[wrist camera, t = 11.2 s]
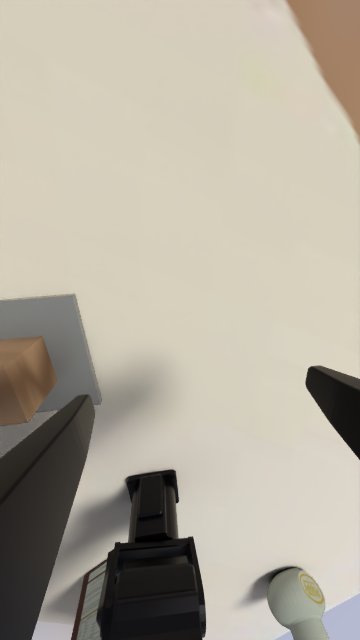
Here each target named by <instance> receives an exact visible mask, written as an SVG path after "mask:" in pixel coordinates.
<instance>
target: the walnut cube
mask: <svg viewBox="0 0 360 640" xmlns="http://www.w3.org/2000/svg"><path fill="white" fill-rule="evenodd" d="M57 382H58V381H57V378H56V375H55V372H54V369H53V366H52V363H51V360H50V357H49V354H48V351H47V348H46V345H45V342H44V339H43V336H39V337H28V338H18V339H7V340H0V426H4V425H12V424H20V423H28V422H29V420H30V419H31V417H32V416H33V415H34V413H35V412H36V411H37V409H38V408H39V406H40V405H41V404H42V402H43V401H44V400H45V398H46V397H47V395H48V394H49V393H50V391H51V390H52V389H53V387H54V386H55V384H56V383H57Z"/></svg>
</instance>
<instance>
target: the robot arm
mask: <svg viewBox="0 0 360 640" xmlns="http://www.w3.org/2000/svg"><path fill="white" fill-rule="evenodd" d="M306 387H307V389H308V391H309V392H310V394H311V395H312V397H313V398H314V400H315V401H316V403H317V404H318V406H319V407H320V409H321V410H322V412H323V413H324V415H325V416H326V418H327V419H328V420H329V422H330V423H331V425H332V426H333V427H334V428H335V430H336V431H337V432H338V433H339V435H340V436H341V437H342V438H343V440H344V441H345V442H346V443H347V445H348V446H349V447H350V448H351V450H352V451H353V452H354V453H355V455H356V456H357V457H358V458H359V460H360V379H358V378H355V377H352V376H349V375H346V374H344V373H341V372H338V371H335V370H332V369H329V368H326V367H323V366H311V367H309V368H308V372H307V377H306ZM94 418H95V409H94V406H93V402H92V398H91V396H90V395H89V394H83V395H78V396H77V397H75V398H74V399H73V400H72V401H70V402H69V403H68V404H67V405H65V406H64V407H63V408H62V409H61V410H59V411H58V412H57V413H56V414H54V415H53V416H52V417H51V418H50V419H48V420H47V421H46V422H45V423H43V424H42V425H41V426H40V427H38V428H37V429H36V430H35V431H34V432H32V433H31V434H30V435H29V436H27V437H26V438H25V439H24V440H23V441H21V442H20V443H19V444H18V445H16V446H15V447H14V448H13V449H11V450H10V451H9V452H8V453H7V454H5V455H4V456H3V457H2V458H0V640H31V639H32V636H33V633H34V629H35V625H36V623H37V620H38V616H39V613H40V610H41V606H42V603H43V600H44V597H45V593H46V590H47V587H48V583H49V580H50V577H51V574H52V570H53V567H54V564H55V560H56V557H57V554H58V551H59V547H60V544H61V541H62V537H63V534H64V531H65V528H66V524H67V521H68V518H69V514H70V511H71V508H72V505H73V501H74V498H75V495H76V491H77V488H78V485H79V481H80V478H81V475H82V472H83V468H84V465H85V461H86V458H87V453H88V449H89V443H90V438H91V433H92V428H93V423H94ZM127 486H128V490H129V494H130V499H131V503H132V507H131V517H130V528H129V539H128V543H120V542H115V547H114V549H113V550H112V551H110V552H109V553H108V558H107V564H106V570H105V576H104V581H103V586H102V591H101V595H100V600H99V605H98V610H97V616H96V622H97V624H98V626H99V629H100V638H101V640H202V638H204V637H205V633H206V611H205V599H204V591H203V585H202V579H201V574H200V569H199V564H198V559H197V554H196V549H195V544H194V539H193V536H192V537H188V538H181V539H178V526H177V513H176V503H178V502H179V497H178V487H177V478H176V471H174V470H171V471H165V472H158V473H152V474H146V475H139V476H133V477H129V478H128V479H127ZM118 573H119V574H118Z"/></svg>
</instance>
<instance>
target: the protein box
mask: <svg viewBox="0 0 360 640" xmlns="http://www.w3.org/2000/svg"><path fill="white" fill-rule="evenodd" d="M106 564H107V560H106V561H104V562H103V563H101V564H100V565H99V566H97V567H96V568H94V569H93V570H92V571H90V572H89V573H87V574H86V575H85V576H84V580H83V585H82V590H81V595H80V600H79V605H78V609H77V614H76V619H75V623H74V628H73V633H72V637H71V640H101V638H100V629H99V626H98V624H97V622H96V616H97V610H98V605H99V600H100V595H101V591H102V586H103V581H104V576H105V570H106ZM118 574H119V573H118Z"/></svg>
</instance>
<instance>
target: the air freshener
mask: <svg viewBox="0 0 360 640" xmlns="http://www.w3.org/2000/svg"><path fill="white" fill-rule="evenodd" d="M267 600H268V604H269V607H270V610H271V612H272V614H273V616H274V617H275V618H276V620H277V621H278V622H279V623H280V624H281V625H282V626H284V627H286V628H288V629H290V630H291V633H292V635H293V638H294V640H330V639H329V637H328V634H327V632H326V630H325V627H324V625H323V623H322V620H321V619H322V617H323V614H324V611H325V598H324V595H323V593H322V591H321V589H320V587H319V585H318V584H317V583H316V581H315V580H314V579H313V578H312V577H311V576H310V575H309V574H308V573H306V572H305V571H302V570H300V569H298V568H290V569H287V570H284V571H282V572H280V573H278V574H277V575H276V576H275V577H274V578H273V579H272V581H271V583H270V585H269V588H268V593H267Z"/></svg>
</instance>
